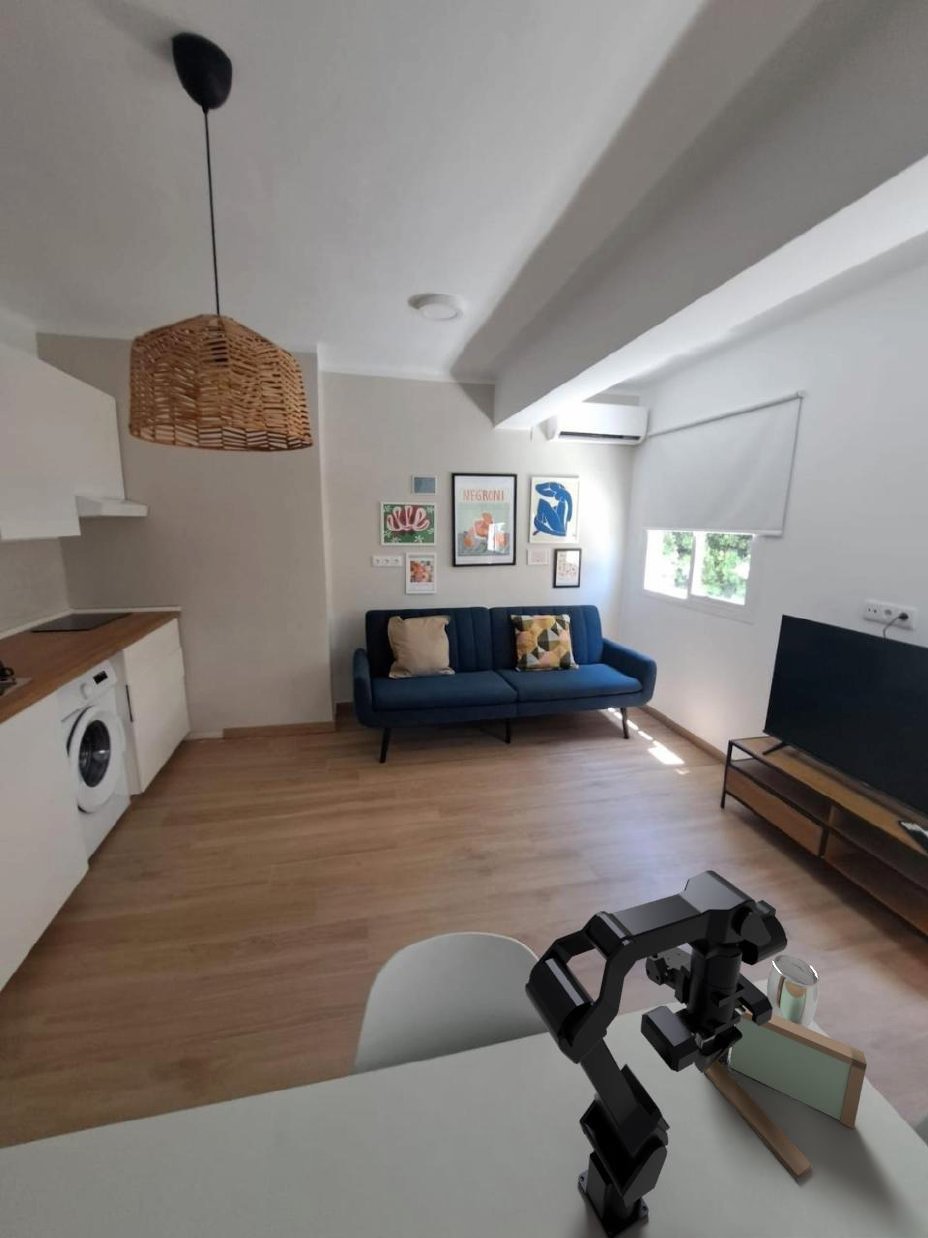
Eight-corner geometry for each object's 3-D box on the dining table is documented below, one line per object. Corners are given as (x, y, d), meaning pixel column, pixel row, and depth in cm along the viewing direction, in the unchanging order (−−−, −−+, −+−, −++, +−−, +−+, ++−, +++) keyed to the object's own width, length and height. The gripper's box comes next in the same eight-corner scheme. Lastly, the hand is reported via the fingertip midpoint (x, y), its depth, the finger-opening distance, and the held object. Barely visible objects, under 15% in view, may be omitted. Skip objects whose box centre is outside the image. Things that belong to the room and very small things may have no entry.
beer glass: (792, 1028, 87) (805, 954, 84) (816, 1069, 80) (831, 990, 78) (751, 1023, 87) (763, 949, 85) (772, 1063, 81) (785, 985, 78)
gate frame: (797, 1180, 66) (813, 1094, 63) (685, 1050, 82) (695, 978, 80) (824, 1158, 68) (840, 1074, 66) (710, 1036, 85) (720, 966, 82)
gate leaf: (730, 1068, 79) (739, 1009, 77) (730, 1057, 81) (738, 999, 79) (853, 1128, 72) (866, 1064, 70) (850, 1115, 73) (863, 1052, 72)
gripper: (710, 908, 76) (698, 995, 78) (617, 945, 68) (607, 1040, 70) (782, 965, 66) (766, 1063, 68) (682, 1016, 58) (668, 1124, 60)
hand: (700, 1068), depth 67 cm, fingers closed
